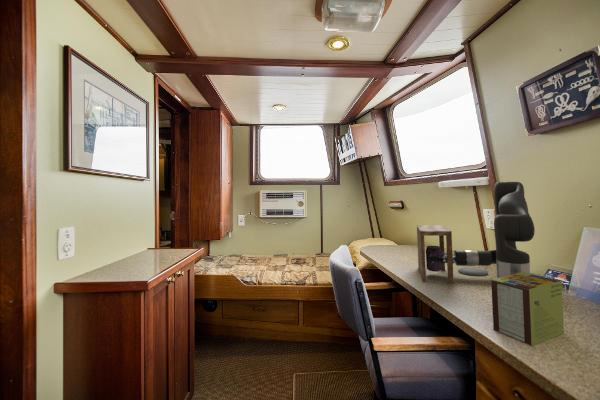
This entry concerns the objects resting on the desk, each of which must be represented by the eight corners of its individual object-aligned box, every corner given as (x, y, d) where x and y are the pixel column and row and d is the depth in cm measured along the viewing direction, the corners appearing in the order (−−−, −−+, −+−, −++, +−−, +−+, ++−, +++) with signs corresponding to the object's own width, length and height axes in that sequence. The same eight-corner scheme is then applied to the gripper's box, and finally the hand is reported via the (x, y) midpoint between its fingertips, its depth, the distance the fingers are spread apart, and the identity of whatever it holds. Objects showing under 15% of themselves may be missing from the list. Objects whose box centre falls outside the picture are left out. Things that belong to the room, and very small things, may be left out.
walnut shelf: (444, 269, 149) (442, 225, 149) (453, 283, 126) (451, 231, 125) (418, 268, 154) (416, 225, 153) (422, 282, 130) (420, 231, 130)
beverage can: (423, 269, 141) (422, 246, 141) (433, 267, 144) (432, 244, 144) (435, 273, 135) (434, 248, 135) (445, 270, 138) (444, 246, 138)
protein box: (565, 333, 79) (562, 280, 79) (531, 346, 73) (529, 289, 73) (524, 319, 89) (522, 271, 89) (491, 330, 83) (489, 278, 83)
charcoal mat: (487, 270, 143) (487, 269, 143) (487, 277, 132) (487, 276, 132) (459, 267, 150) (459, 266, 150) (456, 274, 140) (456, 272, 140)
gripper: (462, 247, 142) (427, 247, 147) (469, 253, 128) (430, 252, 133) (463, 262, 142) (427, 261, 147) (470, 269, 128) (431, 268, 133)
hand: (429, 257), depth 140 cm, fingers closed on beverage can, 6 cm apart
